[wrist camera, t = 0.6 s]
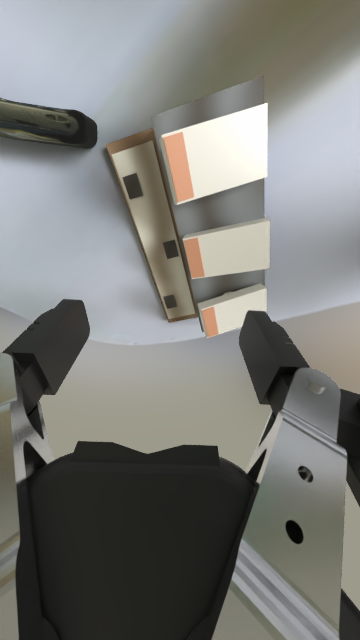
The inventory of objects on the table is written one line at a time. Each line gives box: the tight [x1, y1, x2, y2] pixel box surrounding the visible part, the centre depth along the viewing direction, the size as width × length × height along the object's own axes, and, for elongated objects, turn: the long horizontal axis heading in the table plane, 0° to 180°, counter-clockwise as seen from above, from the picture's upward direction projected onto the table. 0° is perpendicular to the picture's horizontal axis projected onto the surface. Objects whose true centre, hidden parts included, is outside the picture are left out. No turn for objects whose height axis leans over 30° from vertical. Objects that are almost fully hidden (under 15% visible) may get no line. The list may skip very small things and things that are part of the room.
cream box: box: [198, 283, 267, 338], centre depth 28 cm, size 9×5×2 cm, turn 104°
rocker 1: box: [159, 103, 267, 205], centre depth 18 cm, size 9×5×3 cm, turn 104°
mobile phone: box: [0, 98, 97, 148], centre depth 21 cm, size 5×3×15 cm
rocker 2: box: [183, 217, 270, 279], centre depth 23 cm, size 9×5×3 cm, turn 104°
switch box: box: [106, 75, 265, 332], centre depth 27 cm, size 16×26×6 cm, turn 14°
